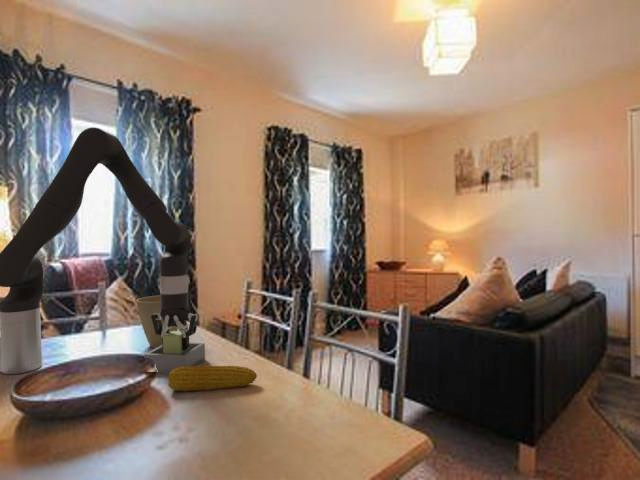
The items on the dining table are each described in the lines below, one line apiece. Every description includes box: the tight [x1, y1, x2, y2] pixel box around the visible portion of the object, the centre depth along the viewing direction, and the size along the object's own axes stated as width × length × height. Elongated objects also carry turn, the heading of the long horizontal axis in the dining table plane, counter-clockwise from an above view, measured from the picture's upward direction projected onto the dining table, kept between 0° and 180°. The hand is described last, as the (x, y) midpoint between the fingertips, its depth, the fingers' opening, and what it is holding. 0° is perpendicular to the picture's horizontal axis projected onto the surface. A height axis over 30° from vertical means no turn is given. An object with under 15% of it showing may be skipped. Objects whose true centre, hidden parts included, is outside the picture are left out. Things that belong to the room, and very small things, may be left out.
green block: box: [163, 330, 184, 354], centre depth 113 cm, size 5×5×5 cm
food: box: [167, 365, 258, 392], centre depth 98 cm, size 21×6×6 cm, turn 100°
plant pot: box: [136, 294, 179, 348], centre depth 135 cm, size 15×15×16 cm
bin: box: [143, 342, 206, 375], centre depth 114 cm, size 12×12×5 cm
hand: (176, 349), depth 113 cm, fingers closed on green block, 5 cm apart
